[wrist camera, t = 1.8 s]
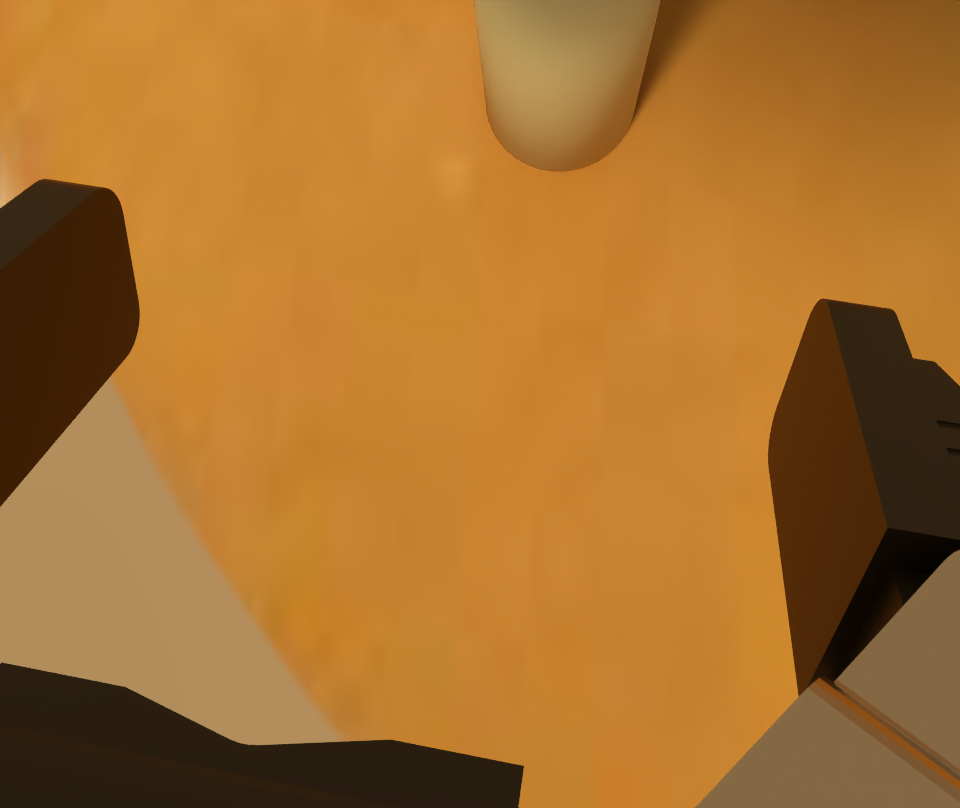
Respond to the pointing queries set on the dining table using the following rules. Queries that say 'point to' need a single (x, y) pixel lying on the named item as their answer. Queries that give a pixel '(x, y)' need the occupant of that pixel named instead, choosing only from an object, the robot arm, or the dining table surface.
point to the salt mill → (563, 75)
